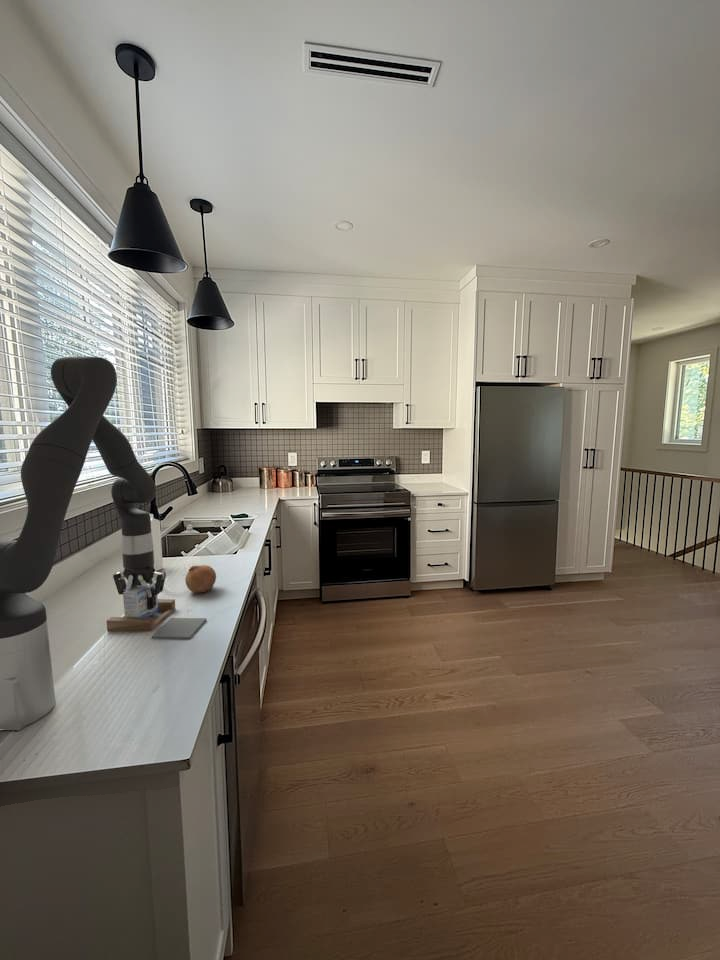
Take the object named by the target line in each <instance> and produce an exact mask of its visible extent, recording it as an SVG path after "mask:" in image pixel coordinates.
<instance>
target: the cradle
mask: <svg viewBox="0 0 720 960" xmlns="http://www.w3.org/2000/svg"><path fill="white" fill-rule="evenodd" d="M175 610H176V599H173V598H172V599H169V598H167V599H166V598H162V599H160V598H158V611H157V612H156V613H162V614H160V616H158V617H157V618H156V619H155V618H154V617H151V616H149V617H125V614H124V615H123V616H110V617H109V618H107V619H106V629H107V630H106V632H127V633H128V632H130V633H133V632H134V633H135V632H137V633H143V632H144V633H148V632H149V633H151V632H152V631H153V630H154V629H155V628H157V626H159V624H161V623H162V622H163V621H164V620H165V619H166V618H168V616H169V615H171V614H172V613H173V612H174V611H175Z"/></svg>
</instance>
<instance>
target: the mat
mask: <svg viewBox="0 0 720 960" xmlns="http://www.w3.org/2000/svg"><path fill="white" fill-rule="evenodd" d="M205 622H207V618H206V617H205V618H202V617H171V618H169V619H168V620H167V621H166V622H165V623H164V624H163V625H162V626H161V627H160V628H159V629H158V630H156V631H155V632H154V633H153V634H152V635H151V636H150V637H151V639H153V640H156V639H159V640H160V639H163V640H164V639H165V640H167V639H168V640H191V639H192V637H193V636H194V635H195V634H196V633H197V632H198V631H199V630H200V628H201V627H202V626H203V625H204V624H205Z"/></svg>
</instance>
